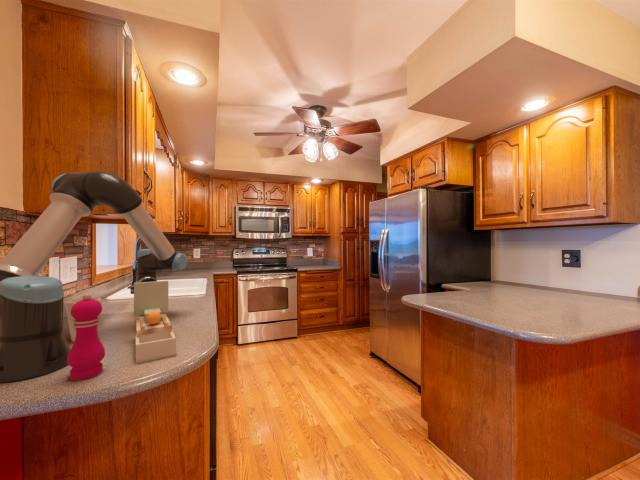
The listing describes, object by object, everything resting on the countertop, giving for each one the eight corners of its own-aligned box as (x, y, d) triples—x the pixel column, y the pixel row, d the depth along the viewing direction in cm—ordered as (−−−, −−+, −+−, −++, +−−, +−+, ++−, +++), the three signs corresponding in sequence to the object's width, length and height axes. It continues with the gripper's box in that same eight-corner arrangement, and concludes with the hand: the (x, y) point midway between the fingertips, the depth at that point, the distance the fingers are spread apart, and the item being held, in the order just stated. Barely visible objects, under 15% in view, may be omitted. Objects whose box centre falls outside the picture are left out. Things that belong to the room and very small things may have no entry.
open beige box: (135, 363, 75) (136, 345, 76) (135, 352, 83) (135, 335, 83) (175, 355, 81) (175, 338, 81) (171, 345, 89) (171, 329, 89)
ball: (146, 327, 85) (146, 313, 85) (145, 323, 88) (145, 311, 88) (161, 324, 87) (161, 311, 87) (160, 321, 90) (160, 309, 90)
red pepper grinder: (85, 343, 91) (85, 303, 91) (57, 343, 91) (57, 303, 91) (108, 334, 100) (108, 297, 100) (82, 334, 100) (82, 297, 100)
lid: (134, 324, 87) (134, 286, 87) (133, 318, 94) (134, 282, 94) (170, 319, 92) (170, 283, 93) (167, 313, 100) (167, 280, 100)
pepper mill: (109, 372, 71) (110, 292, 71) (72, 384, 65) (72, 297, 65) (98, 365, 75) (98, 289, 75) (62, 376, 69) (63, 293, 69)
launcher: (136, 355, 81) (136, 327, 81) (135, 338, 95) (135, 314, 95) (171, 348, 86) (171, 322, 86) (165, 333, 100) (165, 311, 100)
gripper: (165, 293, 122) (173, 303, 103) (129, 297, 115) (130, 308, 95) (165, 276, 122) (173, 282, 103) (129, 278, 115) (130, 286, 96)
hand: (152, 295), depth 99 cm, fingers closed
